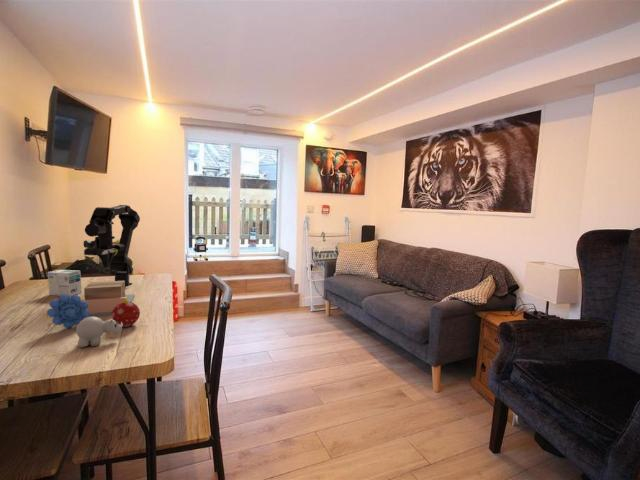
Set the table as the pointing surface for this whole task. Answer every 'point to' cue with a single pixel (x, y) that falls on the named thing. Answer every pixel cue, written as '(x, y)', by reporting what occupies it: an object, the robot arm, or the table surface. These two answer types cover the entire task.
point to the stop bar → (103, 304)
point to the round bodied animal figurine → (95, 330)
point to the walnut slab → (104, 290)
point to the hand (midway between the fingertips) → (106, 267)
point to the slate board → (129, 298)
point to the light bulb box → (64, 282)
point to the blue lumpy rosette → (68, 310)
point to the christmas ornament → (126, 313)
